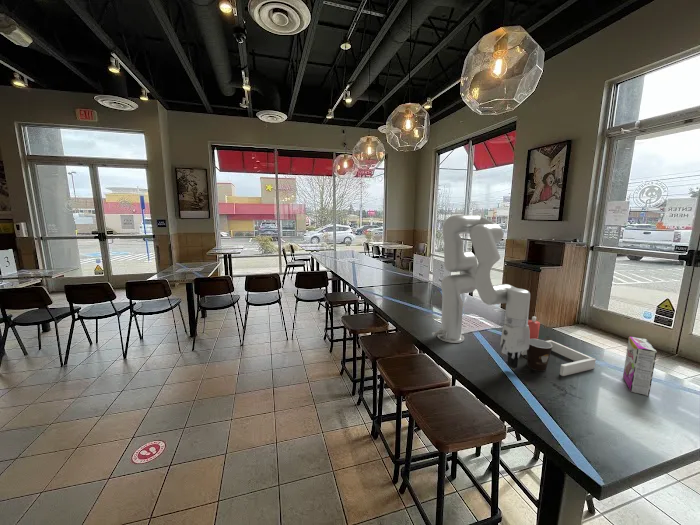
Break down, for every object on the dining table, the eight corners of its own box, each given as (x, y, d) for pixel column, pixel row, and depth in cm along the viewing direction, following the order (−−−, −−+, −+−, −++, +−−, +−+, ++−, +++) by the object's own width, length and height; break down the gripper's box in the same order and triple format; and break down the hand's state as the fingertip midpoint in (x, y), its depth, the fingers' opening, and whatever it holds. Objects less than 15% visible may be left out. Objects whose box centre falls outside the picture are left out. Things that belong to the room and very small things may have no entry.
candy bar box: (621, 377, 109) (628, 335, 106) (639, 381, 107) (647, 338, 104) (629, 392, 100) (637, 347, 97) (649, 397, 97) (658, 351, 95)
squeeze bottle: (532, 344, 136) (535, 319, 134) (523, 340, 141) (525, 315, 139) (540, 343, 138) (543, 318, 135) (530, 339, 142) (533, 314, 140)
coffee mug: (545, 363, 119) (548, 340, 117) (552, 374, 111) (555, 349, 109) (513, 358, 123) (516, 336, 121) (518, 368, 115) (520, 345, 113)
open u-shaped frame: (562, 376, 110) (564, 366, 109) (520, 354, 127) (521, 345, 126) (594, 368, 115) (595, 359, 114) (549, 348, 132) (550, 340, 132)
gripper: (509, 327, 104) (505, 374, 107) (540, 322, 109) (535, 367, 112) (492, 320, 111) (489, 364, 114) (522, 315, 116) (518, 358, 119)
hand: (512, 366), depth 113 cm, fingers closed
